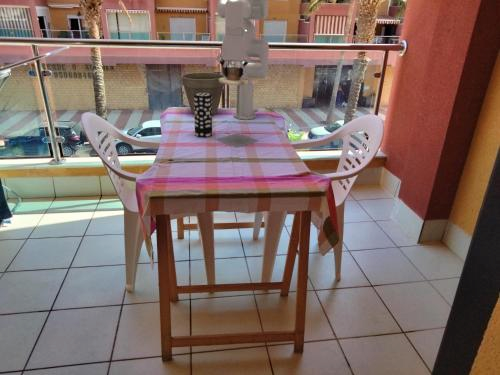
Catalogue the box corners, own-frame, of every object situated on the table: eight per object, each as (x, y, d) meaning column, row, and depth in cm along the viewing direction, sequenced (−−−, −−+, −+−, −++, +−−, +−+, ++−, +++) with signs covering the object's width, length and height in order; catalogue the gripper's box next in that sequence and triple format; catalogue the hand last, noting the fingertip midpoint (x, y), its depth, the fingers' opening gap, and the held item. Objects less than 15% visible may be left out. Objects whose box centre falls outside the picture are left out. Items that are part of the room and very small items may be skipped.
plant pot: (174, 115, 212) (172, 76, 203) (194, 106, 233) (193, 70, 224) (214, 120, 205) (214, 80, 195) (231, 111, 226) (232, 74, 217)
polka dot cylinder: (213, 134, 183) (213, 93, 174) (210, 139, 176) (210, 96, 167) (197, 132, 184) (196, 92, 175) (193, 138, 176) (191, 95, 168)
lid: (233, 78, 172) (233, 64, 169) (254, 82, 164) (254, 68, 161) (212, 81, 163) (212, 67, 160) (233, 86, 155) (233, 70, 152)
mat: (237, 134, 184) (237, 133, 184) (259, 141, 175) (259, 140, 174) (214, 140, 174) (214, 139, 174) (236, 148, 165) (236, 147, 164)
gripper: (254, 32, 158) (252, 76, 166) (214, 31, 158) (214, 75, 166) (255, 33, 152) (253, 79, 159) (213, 32, 151) (213, 77, 159)
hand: (233, 76), depth 162 cm, fingers closed on lid, 5 cm apart
